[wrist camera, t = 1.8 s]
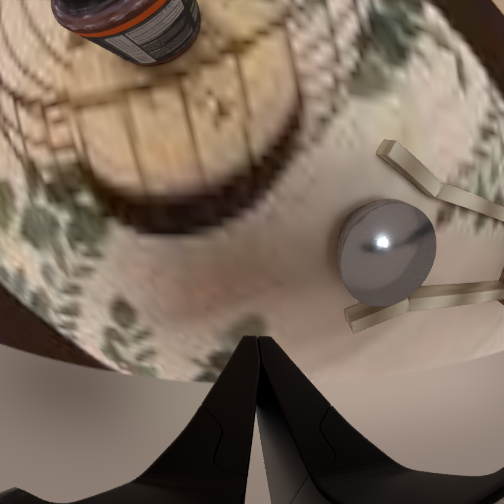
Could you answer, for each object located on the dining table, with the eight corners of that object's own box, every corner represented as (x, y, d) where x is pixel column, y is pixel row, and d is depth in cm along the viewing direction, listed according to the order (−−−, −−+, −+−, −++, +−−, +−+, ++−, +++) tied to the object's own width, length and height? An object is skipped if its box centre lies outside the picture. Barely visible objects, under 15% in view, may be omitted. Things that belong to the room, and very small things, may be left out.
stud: (417, 198, 19) (446, 211, 16) (396, 281, 22) (418, 306, 19) (333, 184, 19) (354, 196, 15) (317, 278, 22) (331, 306, 18)
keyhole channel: (529, 189, 19) (548, 197, 16) (491, 313, 24) (506, 327, 22) (377, 138, 18) (399, 139, 15) (341, 320, 23) (352, 343, 20)
